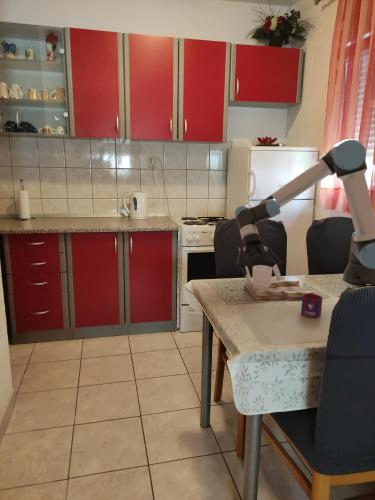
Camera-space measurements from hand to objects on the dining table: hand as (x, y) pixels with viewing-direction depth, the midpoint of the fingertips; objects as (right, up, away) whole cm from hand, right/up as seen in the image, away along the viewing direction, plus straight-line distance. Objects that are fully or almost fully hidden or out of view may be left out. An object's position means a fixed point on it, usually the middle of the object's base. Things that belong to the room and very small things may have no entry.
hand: (264, 280), depth 148 cm
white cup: (-1, -5, +4) cm, 6 cm away
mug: (+13, -10, -16) cm, 24 cm away
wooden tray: (+6, -5, +4) cm, 9 cm away
